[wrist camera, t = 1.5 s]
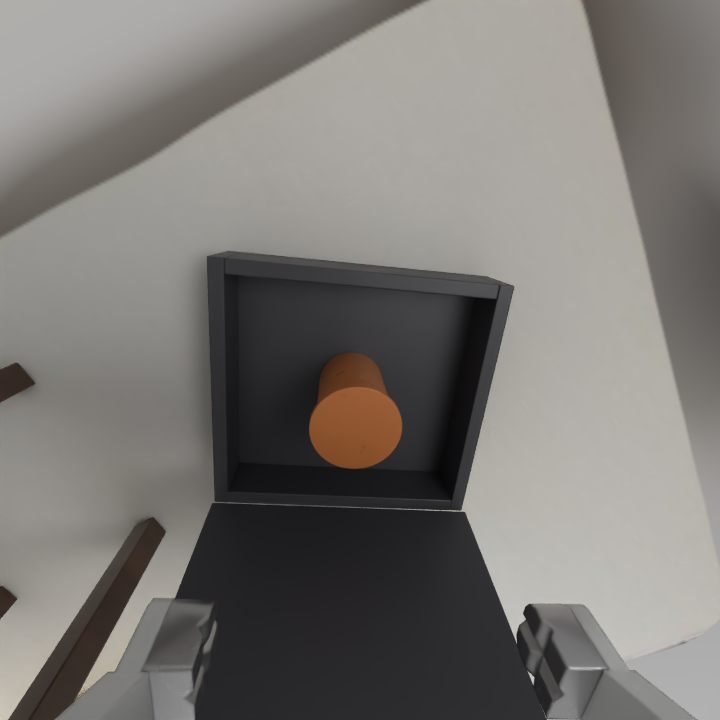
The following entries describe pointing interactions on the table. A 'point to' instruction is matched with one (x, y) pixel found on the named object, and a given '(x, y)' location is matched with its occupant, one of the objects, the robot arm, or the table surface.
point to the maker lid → (353, 617)
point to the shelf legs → (94, 618)
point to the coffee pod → (354, 414)
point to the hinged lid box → (338, 336)
